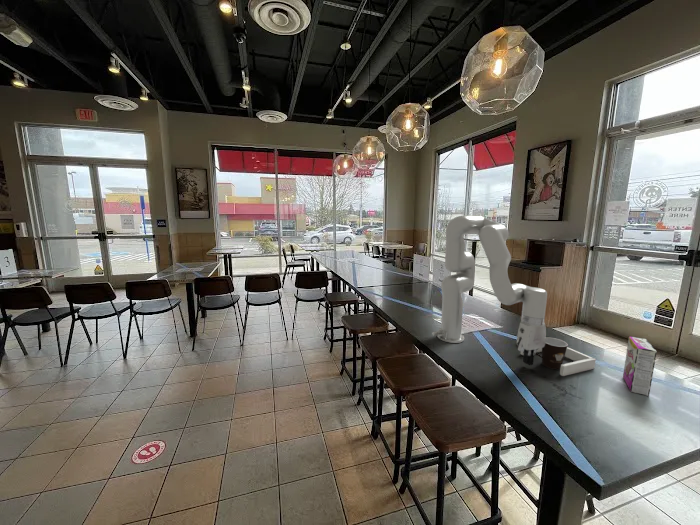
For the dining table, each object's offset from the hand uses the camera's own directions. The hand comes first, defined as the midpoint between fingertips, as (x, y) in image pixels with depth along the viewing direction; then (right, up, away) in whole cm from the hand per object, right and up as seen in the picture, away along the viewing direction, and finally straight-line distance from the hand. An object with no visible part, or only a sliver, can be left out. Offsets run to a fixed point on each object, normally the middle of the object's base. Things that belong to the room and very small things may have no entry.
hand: (527, 363), depth 116 cm
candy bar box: (+30, -4, -12) cm, 33 cm away
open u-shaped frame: (+15, -1, +5) cm, 16 cm away
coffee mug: (+9, -2, +3) cm, 10 cm away
